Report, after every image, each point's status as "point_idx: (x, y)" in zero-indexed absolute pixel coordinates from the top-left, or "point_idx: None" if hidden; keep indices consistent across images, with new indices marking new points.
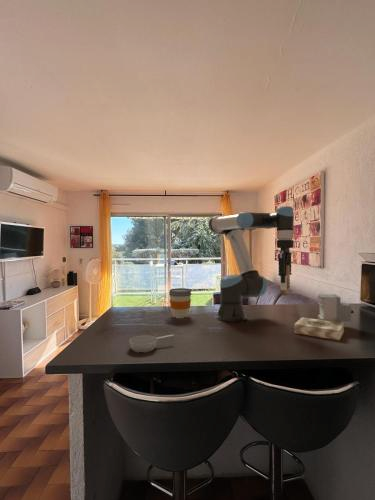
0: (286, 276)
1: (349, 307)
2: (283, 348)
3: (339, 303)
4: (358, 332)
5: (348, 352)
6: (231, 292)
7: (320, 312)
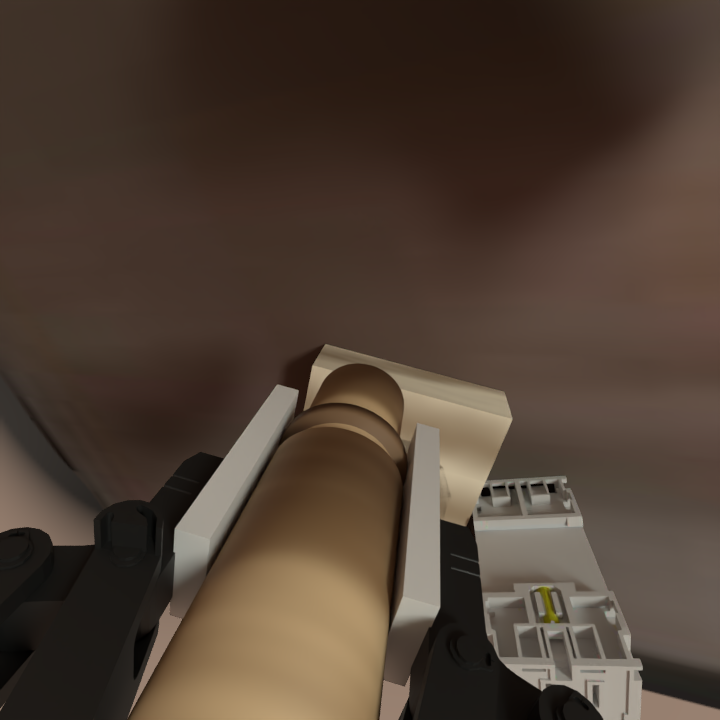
0: (186, 610)
1: None
2: (60, 294)
3: None
4: None
5: None
6: None
7: (565, 544)
